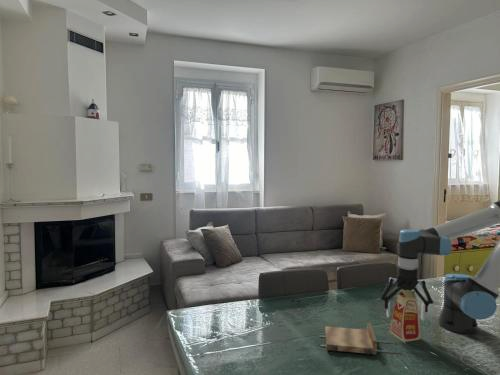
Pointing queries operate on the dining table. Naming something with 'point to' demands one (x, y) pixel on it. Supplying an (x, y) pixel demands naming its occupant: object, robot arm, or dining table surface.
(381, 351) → the rails
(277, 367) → the dining table surface
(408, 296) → the milk carton
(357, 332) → the cart
